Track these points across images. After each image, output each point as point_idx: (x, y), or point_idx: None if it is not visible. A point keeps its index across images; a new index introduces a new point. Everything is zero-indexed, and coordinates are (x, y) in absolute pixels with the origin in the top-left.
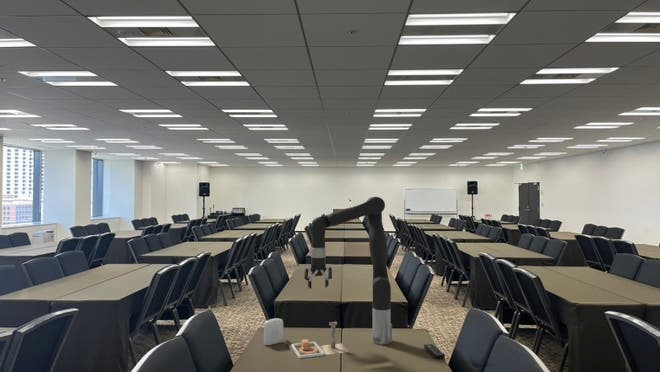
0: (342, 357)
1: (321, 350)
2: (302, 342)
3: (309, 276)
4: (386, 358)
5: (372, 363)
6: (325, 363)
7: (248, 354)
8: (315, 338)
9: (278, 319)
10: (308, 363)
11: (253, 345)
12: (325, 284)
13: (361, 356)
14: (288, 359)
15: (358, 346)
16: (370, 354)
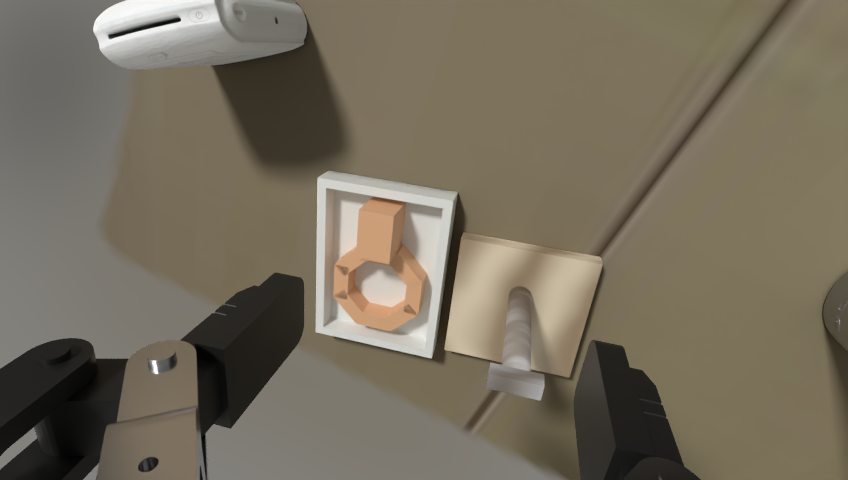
0: None
1: (433, 327)
2: (358, 238)
3: (119, 421)
4: (699, 471)
5: None
6: (421, 382)
7: (131, 143)
8: (524, 54)
9: (183, 37)
10: (357, 350)
11: None
12: (589, 399)
13: None
14: None
15: (689, 300)
16: (665, 407)
